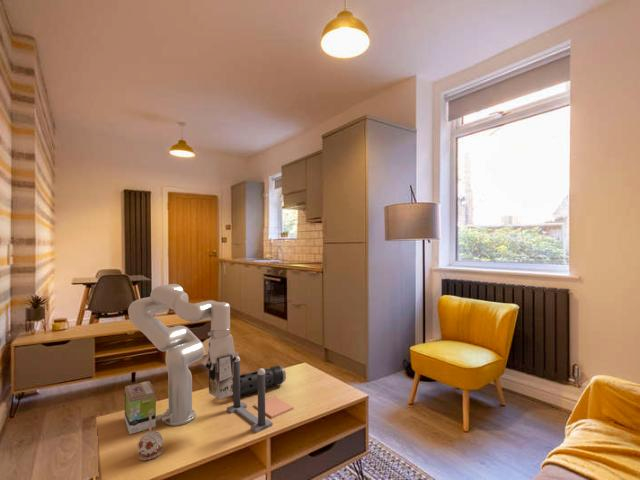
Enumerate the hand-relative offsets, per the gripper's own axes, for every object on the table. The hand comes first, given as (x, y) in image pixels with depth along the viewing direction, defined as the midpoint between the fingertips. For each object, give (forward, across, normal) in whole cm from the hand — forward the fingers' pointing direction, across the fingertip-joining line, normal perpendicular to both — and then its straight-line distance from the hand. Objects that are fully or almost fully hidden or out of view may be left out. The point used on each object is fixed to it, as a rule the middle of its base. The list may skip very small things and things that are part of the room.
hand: (220, 376), depth 136 cm
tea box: (+22, -23, +28) cm, 42 cm away
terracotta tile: (+21, +26, 0) cm, 34 cm away
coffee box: (+7, 0, 0) cm, 7 cm away
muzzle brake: (+22, +30, +20) cm, 42 cm away
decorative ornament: (+22, -26, +2) cm, 34 cm away
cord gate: (+21, +13, 0) cm, 25 cm away
